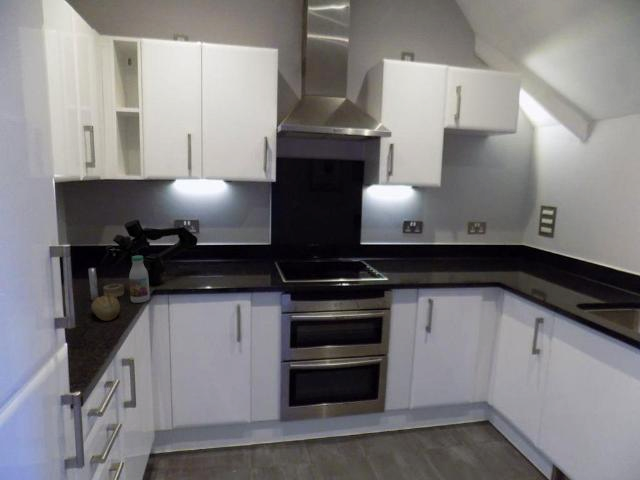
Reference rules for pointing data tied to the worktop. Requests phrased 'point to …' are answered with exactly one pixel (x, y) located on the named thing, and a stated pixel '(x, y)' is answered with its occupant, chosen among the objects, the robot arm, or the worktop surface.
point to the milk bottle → (139, 281)
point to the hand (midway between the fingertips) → (107, 264)
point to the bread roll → (106, 307)
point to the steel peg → (93, 283)
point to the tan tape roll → (114, 290)
